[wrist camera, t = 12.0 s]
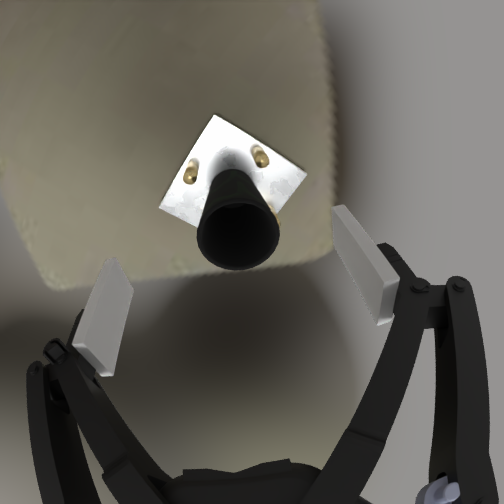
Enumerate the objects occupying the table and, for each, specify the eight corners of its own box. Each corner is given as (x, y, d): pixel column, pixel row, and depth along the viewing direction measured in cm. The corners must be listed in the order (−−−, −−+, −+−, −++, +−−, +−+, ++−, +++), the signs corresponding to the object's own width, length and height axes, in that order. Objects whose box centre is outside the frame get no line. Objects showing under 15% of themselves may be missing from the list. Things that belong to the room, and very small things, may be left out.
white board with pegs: (214, 113, 33) (214, 119, 28) (304, 170, 38) (316, 185, 33) (160, 202, 38) (153, 221, 34) (246, 246, 44) (249, 269, 39)
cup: (273, 195, 38) (294, 244, 28) (225, 226, 40) (229, 283, 30) (239, 148, 34) (249, 182, 24) (189, 184, 36) (179, 230, 26)
